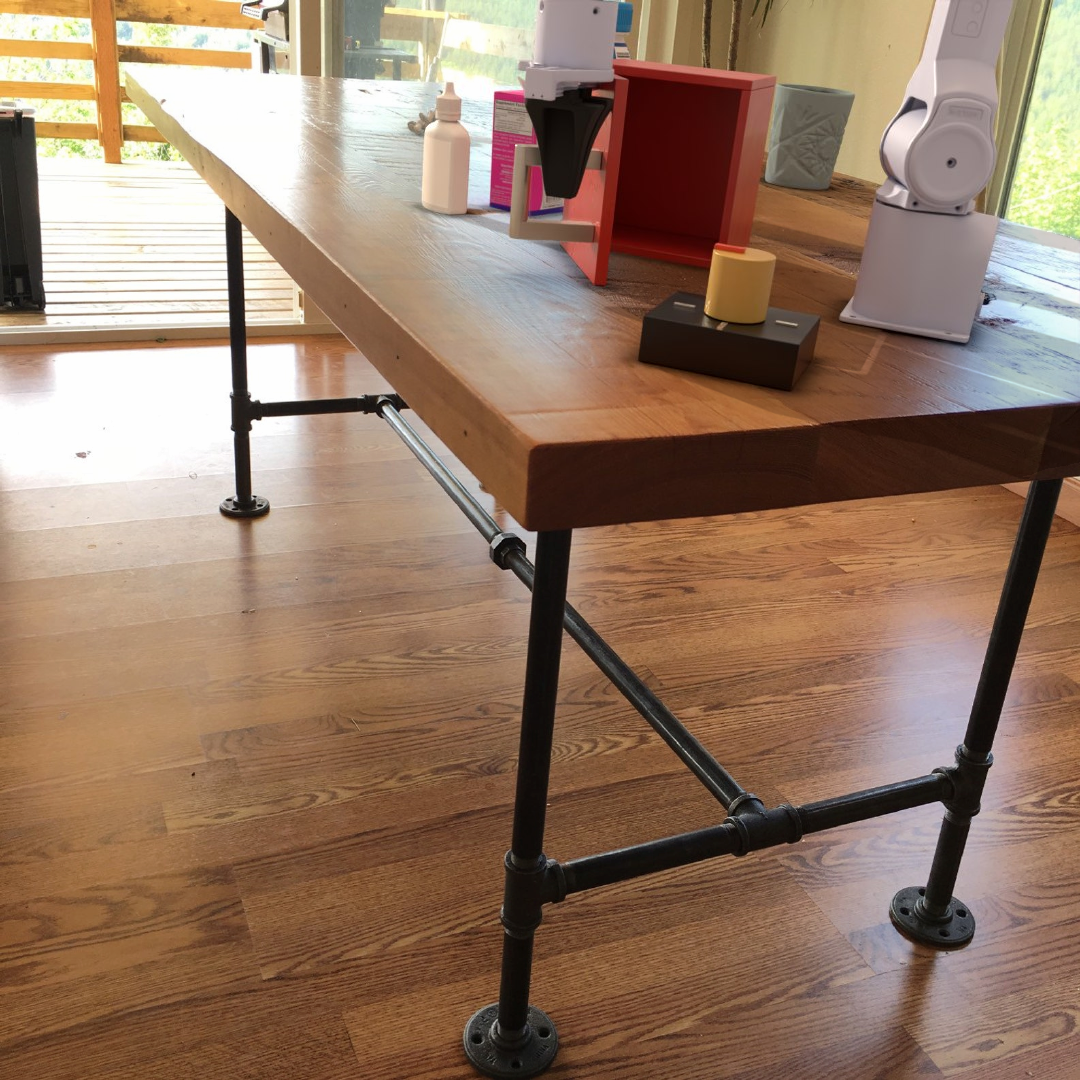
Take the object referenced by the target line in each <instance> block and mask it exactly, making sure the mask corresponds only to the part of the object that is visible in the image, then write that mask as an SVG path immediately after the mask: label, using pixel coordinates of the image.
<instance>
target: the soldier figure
mask: <svg viewBox="0 0 1080 1080" xmlns="http://www.w3.org/2000/svg"><path fill="white" fill-rule="evenodd" d="M438 92H440V94H439V95H441V94H443V92H444V90H441V89H439V90H438ZM418 117H419V119H418V120H417V121H414V120H410V121H408V122H407V124H406V125H407V128H408V130H409V131H410V132H411V133H413V134H414V133H415V135H417V136H419V135H421V133H422V130H424V131H425V129H426V127H427V126H428V125H429V124H431V123H433V122H435V121H436V120H439V119H437V118H436V108H435V109H429V110H428V111H427V115H425V114H424V113H423V112H419V113H418Z"/></svg>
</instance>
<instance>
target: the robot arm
mask: <svg viewBox="0 0 1080 1080" xmlns="http://www.w3.org/2000/svg"><path fill="white" fill-rule="evenodd" d="M613 1H614V0H607V1H603V0H537V7H536V8H537V9H536V21H535V36H534V47H533V49H534V50H533V60H532V59H518V60H517V66H516V67H517V68H516V69H517V71H520V72H521V71H522V72H525V77H524V80H525V89H524V98H525V108H526V110H527V112H528V114H529V117H530V119H531V122H532V124H533V127H534V131H535V134H536V138H537V142H538V147H539V153H540V160H541V168H542V177H543V184H544V190H545V194H546V196H551V197H558V198H564V199H572V198H575V197H576V196H577V194H578V191H579V188H580V185H581V182H582V179H583V176H584V172H585V169H586V165H587V162H588V159H589V156H590V152H591V149H592V147H593V144H594V141H595V139H596V137H597V135H598V132H599V130H600V128H601V126H602V125H603V123H604V121H605V119H606V118H607V116H608V114H609V113H610V111H611V109H612V107H613V99H611V98H606V97H598V96H592V91H595V90H600V84H601V82H612V81H613V79H614V69H613V68H612V66H613V65H612V62H613V52H614V42H615V33H616V23H617V14H618V4H619V2H620V1H619V0H616V1H617V2H613ZM1014 1H1015V0H935V4H934V7H933V11H932V15H931V19H930V25H929V27H928V32H927V36H926V40H925V43H924V48H923V52H922V55H921V58H920V61H919V63H918V65H917V67H916V68H915V70H914V72H913V74H912V75H911V78H910V80H909V81H908V83H907V85H906V89H905V93H904V97H903V100H902V103H901V105H900V108H899V109H898V111H897V112H896V114H895V115H894V117H893V118H892V119H890V121H889V123H888V124H887V125H886V127H885V129H884V130H883V133H882V136H881V138H880V143H879V150H878V156H879V163H880V165H881V166H880V167H881V169H882V171H883V172H884V174H885V175H886V177H887V178H886V179H885V180H884V182H883V183H882V185H881V186H879V188H878V189H876V190H875V193H874V198H873V203H872V208H871V212H870V217H869V222H868V225H867V231H866V236H865V241H864V246H863V250H862V255H861V260H860V265H859V270H858V274H857V279H856V284H855V288H854V293H853V296H852V297H851V298H850V299H849V301H848V303H847V304H846V305H845V307H844V308H843V310H842V311H841V312H840V314H839V317H838V320H839V321H840V322H843V323H850V324H855V325H860V326H866V327H871V328H877V329H881V330H888V331H893V332H900V333H905V334H910V335H916V336H921V337H928V338H932V339H933V338H934V339H939V340H945V341H950V342H954V343H962V344H967V343H968V342H969V340H970V335H971V331H972V328H973V324H974V320H975V318H979V317H980V315H981V312H982V308H983V304H984V301H985V297H986V293H985V292H982V289H983V286H984V282H985V278H986V275H987V271H988V267H989V263H990V259H991V255H992V251H993V249H994V248H993V247H994V243H995V239H996V237H997V232H998V229H999V228H998V227H999V224H1000V220H1001V218H1000V217H999V216H996V215H991V214H984V213H979V212H976V211H974V210H975V208H976V202H977V201H976V200H974V199H975V198H976V197H978V195H980V194H981V192H982V191H983V190H984V189H985V188H986V187H987V185H988V184H989V182H990V181H991V178H992V176H993V174H994V172H995V168H996V164H997V157H998V156H997V155H998V154H997V145H996V141H995V135H994V125H995V124H994V123H995V119H996V115H997V111H998V107H999V93H998V85H997V80H996V79H997V78H996V66H997V63H998V59H999V55H1000V52H1001V48H1002V44H1003V41H1004V37H1005V34H1006V30H1007V26H1008V24H1009V19H1010V15H1011V12H1012V9H1013V4H1014ZM578 82H580V84H578ZM562 86H563V87H562Z"/></svg>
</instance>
